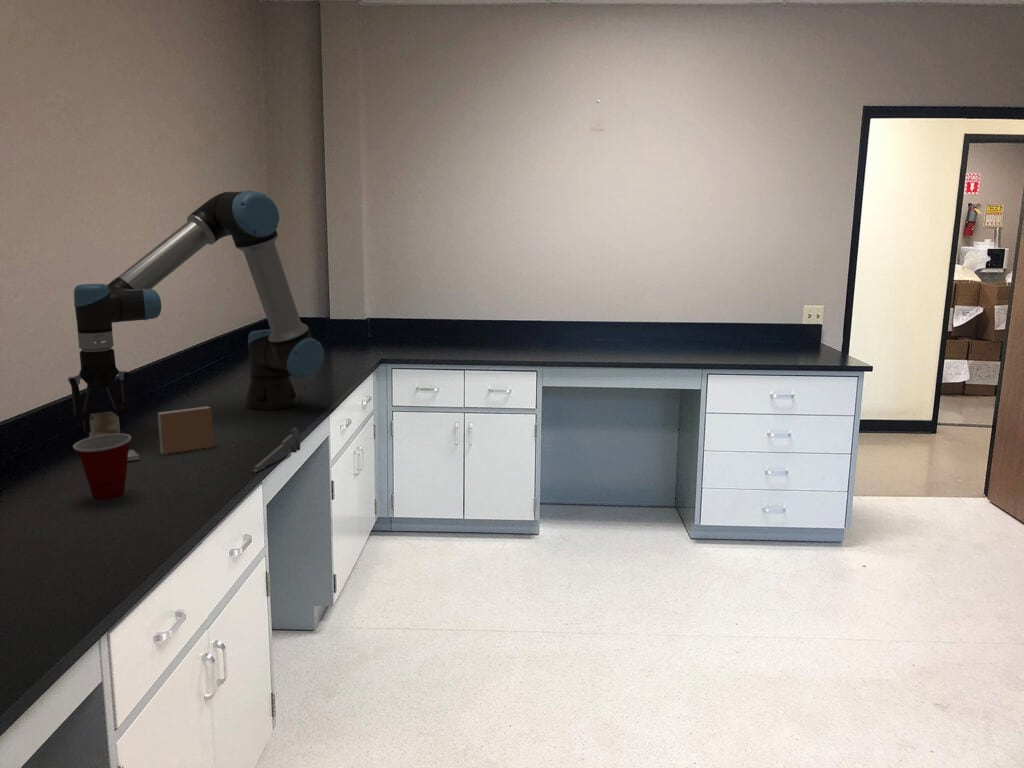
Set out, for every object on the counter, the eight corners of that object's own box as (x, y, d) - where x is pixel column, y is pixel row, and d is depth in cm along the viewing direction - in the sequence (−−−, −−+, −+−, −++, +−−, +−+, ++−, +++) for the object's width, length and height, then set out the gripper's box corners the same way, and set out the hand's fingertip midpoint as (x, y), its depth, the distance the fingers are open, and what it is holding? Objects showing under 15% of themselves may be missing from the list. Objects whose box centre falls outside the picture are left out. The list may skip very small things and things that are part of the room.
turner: (115, 438, 219) (112, 406, 217) (139, 459, 201) (136, 424, 199) (81, 443, 214) (77, 410, 212) (102, 465, 196) (99, 429, 194)
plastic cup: (70, 495, 176) (64, 439, 173) (124, 484, 183) (119, 430, 181) (88, 508, 168) (83, 449, 166) (144, 496, 175) (139, 439, 173)
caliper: (296, 450, 211) (295, 426, 210) (300, 451, 211) (299, 426, 210) (251, 474, 192) (250, 447, 190) (255, 474, 191) (254, 447, 190)
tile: (210, 445, 215) (207, 406, 213) (213, 447, 213) (211, 408, 211) (160, 452, 207) (157, 412, 205) (163, 455, 206) (160, 414, 204)
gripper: (58, 354, 197) (68, 452, 201) (140, 347, 208) (148, 440, 212) (51, 350, 203) (61, 445, 207) (132, 343, 213) (140, 434, 218)
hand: (105, 442), depth 210 cm, fingers closed on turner, 5 cm apart
